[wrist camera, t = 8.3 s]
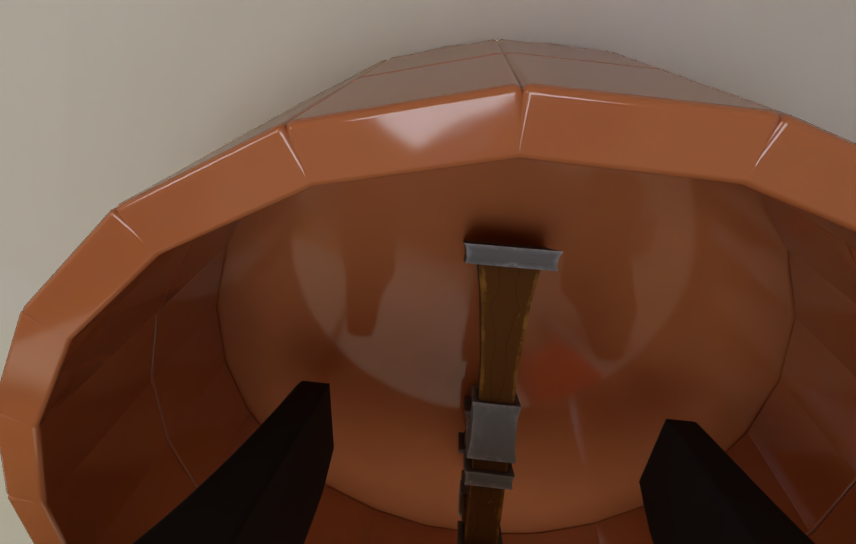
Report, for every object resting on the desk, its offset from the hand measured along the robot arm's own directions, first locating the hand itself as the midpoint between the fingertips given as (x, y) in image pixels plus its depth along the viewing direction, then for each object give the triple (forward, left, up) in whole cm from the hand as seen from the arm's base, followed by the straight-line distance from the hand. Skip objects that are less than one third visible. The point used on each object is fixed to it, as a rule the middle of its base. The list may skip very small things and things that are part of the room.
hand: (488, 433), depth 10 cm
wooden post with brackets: (0, 0, -2) cm, 2 cm away
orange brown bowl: (0, 0, -3) cm, 3 cm away
